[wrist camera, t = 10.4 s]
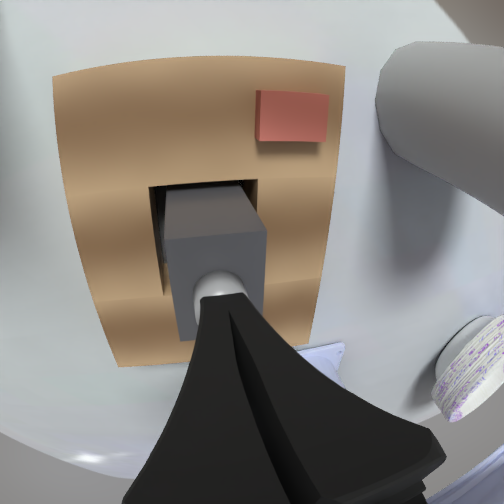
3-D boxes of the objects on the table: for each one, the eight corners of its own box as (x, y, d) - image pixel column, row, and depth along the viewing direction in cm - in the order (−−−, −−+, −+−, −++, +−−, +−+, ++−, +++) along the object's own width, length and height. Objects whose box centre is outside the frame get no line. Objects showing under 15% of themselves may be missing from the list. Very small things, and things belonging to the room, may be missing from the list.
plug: (231, 244, 18) (269, 353, 11) (175, 250, 17) (182, 365, 11) (230, 169, 16) (278, 249, 9) (167, 174, 15) (163, 260, 8)
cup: (372, 167, 18) (500, 250, 9) (372, 32, 13) (527, 34, 5) (460, 162, 19) (566, 223, 10) (466, 56, 14) (587, 84, 6)
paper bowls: (497, 331, 36) (525, 363, 30) (425, 393, 39) (450, 431, 32) (501, 275, 28) (543, 315, 22) (409, 358, 31) (445, 410, 24)
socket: (293, 313, 22) (312, 352, 19) (121, 333, 19) (117, 377, 16) (316, 66, 14) (354, 66, 11) (74, 76, 11) (45, 76, 8)
